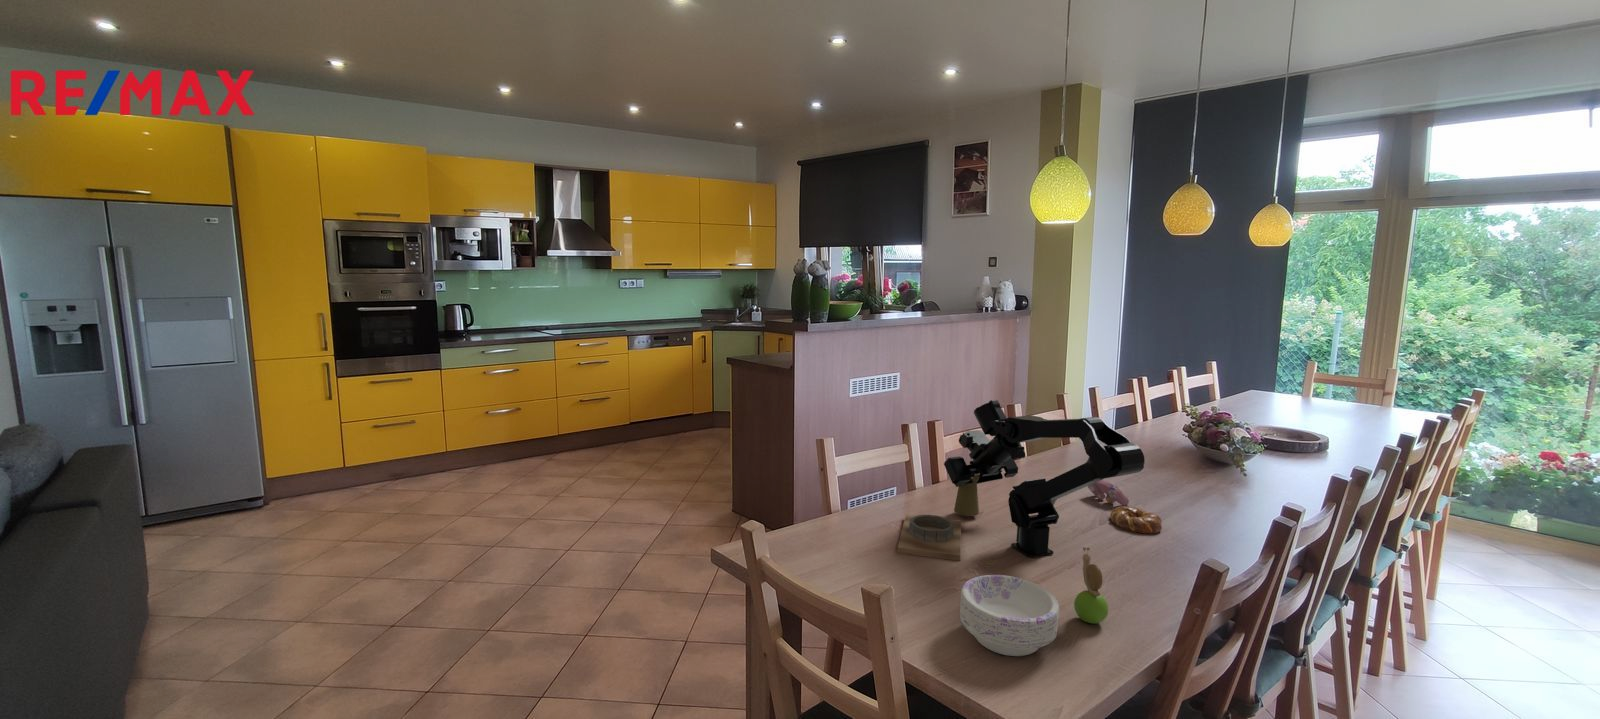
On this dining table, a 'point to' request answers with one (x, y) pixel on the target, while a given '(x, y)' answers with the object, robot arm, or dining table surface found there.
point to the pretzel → (1136, 520)
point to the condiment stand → (931, 537)
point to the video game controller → (1108, 492)
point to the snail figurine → (1091, 594)
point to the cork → (968, 499)
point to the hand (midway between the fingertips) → (964, 483)
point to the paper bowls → (1009, 614)
